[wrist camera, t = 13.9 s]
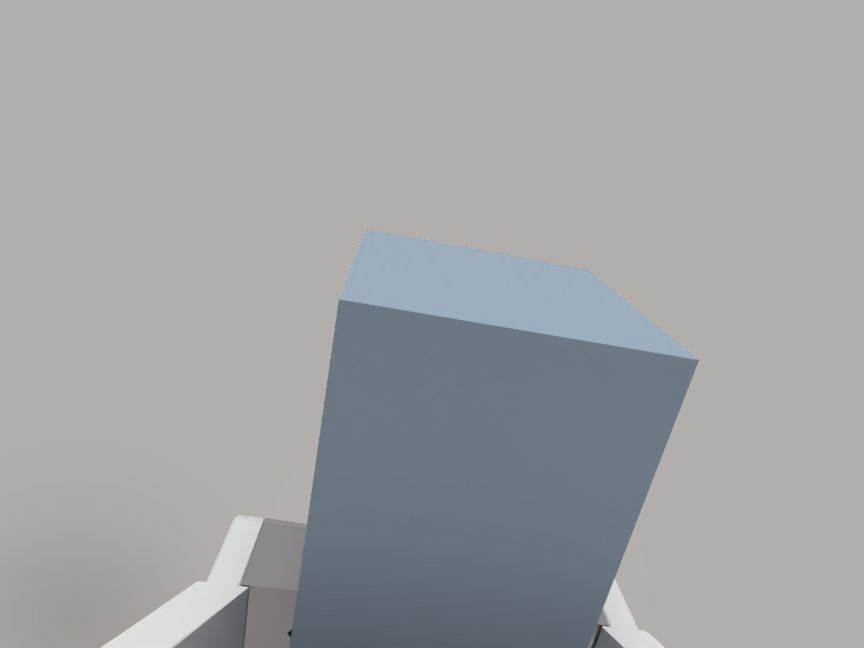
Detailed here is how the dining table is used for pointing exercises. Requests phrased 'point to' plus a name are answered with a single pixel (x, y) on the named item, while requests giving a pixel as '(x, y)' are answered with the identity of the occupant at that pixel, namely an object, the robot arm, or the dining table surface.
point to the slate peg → (479, 451)
